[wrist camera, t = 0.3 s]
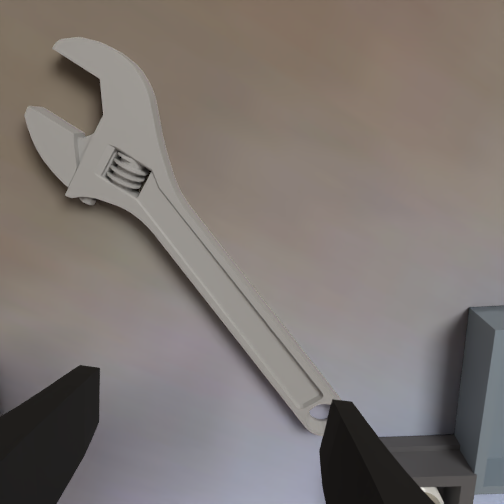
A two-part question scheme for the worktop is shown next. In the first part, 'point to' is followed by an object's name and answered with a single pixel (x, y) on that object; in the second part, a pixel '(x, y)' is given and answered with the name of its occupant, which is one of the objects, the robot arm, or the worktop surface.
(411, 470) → the dark grey square holder
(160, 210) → the adjustable wrench
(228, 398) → the worktop surface
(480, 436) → the parts tray
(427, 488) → the banded white capsule
